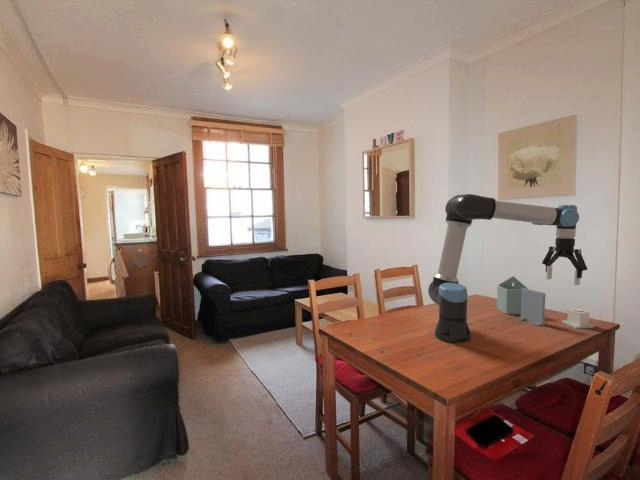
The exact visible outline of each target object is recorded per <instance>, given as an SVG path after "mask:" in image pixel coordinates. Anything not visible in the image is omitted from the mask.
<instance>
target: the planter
mask: <svg viewBox="0 0 640 480" xmlns="http://www.w3.org/2000/svg"><path fill="white" fill-rule="evenodd" d="M521 288H526V289H529V288H528V287H527V286H526V285H524V283H522V282H521V281H520V280H518V279H517V278H516V277H515V276H514V275H513V276H510V277H509V278H507V279H506V280H504V281H502V282H500V283H498V284H497V288H496V294H497V295H496V296H497V297H496V309H497V310H499V311H500V312H502V313H504V314H505V313H506V314H505V315H521Z"/></svg>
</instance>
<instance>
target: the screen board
mask: <svg viewBox="0 0 640 480" xmlns="http://www.w3.org/2000/svg"><path fill="white" fill-rule="evenodd" d="M545 311H546V293H545V292H541V291H537V290H533V289H529V288H528V289H526V288H521V314H520V317H519V316H518V320H519V321H526V322H529V323H532V324H533V325H534V326H537V327H543V326H546V325H547V322H545V320H546V319H545V317H546V314H545V313H546V312H545Z"/></svg>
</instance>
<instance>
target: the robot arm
mask: <svg viewBox="0 0 640 480" xmlns="http://www.w3.org/2000/svg"><path fill="white" fill-rule="evenodd" d="M445 213H446V217H445V222H446V224H447V228H446V234H445V238H444V242H443V246H442V252H441V257H440V261H439V267H438V270H437V271H438V272H437V273H436V274H433V278H432V281H431V282H430V283H429V286H428V289H427V293H428V296H429V298H430V299H431V301H432V302H433V303H435V304H436V305H437V306H438V321H437V323H436V326H435V329H434V336H435V337H436V338H437V339H439V340H441V341H444V342H448V343H456V344H457V343H460V344H461V343H467V342H469V341H471V340H472V338H471V337H472V333H471V330H470V327H469V323H468V297H469V295H468V289H467V288H466V286H464V285H463V284H460V283H459V279H458V278H457V276H458V271H459V266H460V263H461V262H460V261H461V257H462V252H463V248H464V244H465V238H466V234H467V230H468V228H469V227H471V226H472V223H473V221H474V220H487V221H490V220H493V219H500V220H507V221H515V222H516V221H517V222H523V223H524V222H525V223H531V224H532V225H535V226H555V227H556V230H555V237H556V238H555V244H554V245H555V246H552V245H551V246H548V251H547V253H546V255H545V256H544V259H542V262H541V264H542V265H544V266H545V273H546V275H545V278H546V280H552V279H553V264H554V263H555V262H556V261H557V260H558V259H559V258H567V259H568V260H569V261H570V263H571V264H572V265H573V267H574V268H575V270H574V275H573V276H574V277H573V278H574V279H573V286H579V285H580V283H581V279H582V276H583V272H584V271H588V267H587V264H586V262H585V260H584V259H585V258H584V257H583V255H582V249H581V248H576V249H575V248H574V247H575V246H576V245H575V244H576V239H575V238H576V232H577V231H576V230H577V229H576V228H577V223H578V222H579V220H580V214H579V212H578V206H577V205H575V204H559V205H558V206H557V207H553V206H552V207H551V206H543V205H536V204H526V203H518V202H509V201H503V200H502V201H499V200H497V199H496V198H494V197H487V196H482V195H478V194H473V193H467V194H466V193H464V194H457V195H455V196H452V197H451V198H449V199H448V200H447V202H446V203H445Z"/></svg>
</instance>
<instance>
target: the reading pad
mask: <svg viewBox="0 0 640 480" xmlns="http://www.w3.org/2000/svg"><path fill="white" fill-rule="evenodd" d="M561 323H563V324H565V325H568V326H569V327H572V328H574V329H594V327H596V326H595V325H593V324H591V323H589V324H587V325H581V326H579V325H576V324H573V323H569V322H567V319H563V320H561Z"/></svg>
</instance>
